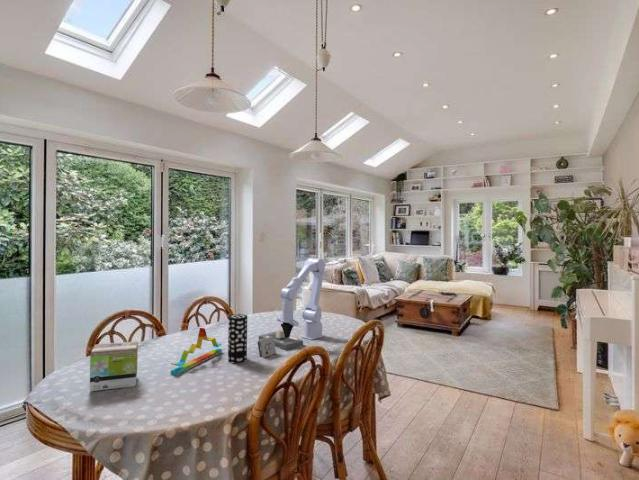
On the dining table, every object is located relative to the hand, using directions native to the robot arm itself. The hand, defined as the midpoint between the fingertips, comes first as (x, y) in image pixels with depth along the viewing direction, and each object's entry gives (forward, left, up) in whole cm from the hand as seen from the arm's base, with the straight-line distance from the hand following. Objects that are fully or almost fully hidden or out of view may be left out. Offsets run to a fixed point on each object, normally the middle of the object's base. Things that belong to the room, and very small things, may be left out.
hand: (287, 337), depth 190 cm
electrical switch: (+17, +5, -4) cm, 18 cm away
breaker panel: (0, -5, -4) cm, 7 cm away
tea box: (+79, -7, -4) cm, 79 cm away
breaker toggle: (0, -5, -1) cm, 5 cm away
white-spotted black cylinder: (+31, +2, -4) cm, 31 cm away
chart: (+45, -7, -4) cm, 46 cm away
